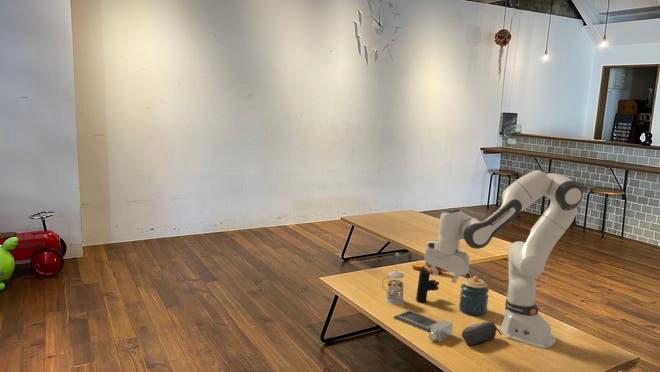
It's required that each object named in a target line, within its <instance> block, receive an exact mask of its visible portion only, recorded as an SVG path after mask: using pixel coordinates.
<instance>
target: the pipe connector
mask: <svg viewBox="0 0 660 372" xmlns="http://www.w3.org/2000/svg"><path fill="white" fill-rule="evenodd" d="M430 275H431V273H430V272H429V270H425V269H422V270H419V274H418V282H417V290H416V297H415V300H416V301H417V302H419V303H426V302H427V299H428V297H427V296H428V292H430V291H439V285H440V281H439V280H438V281H437V280H435V279H430Z"/></svg>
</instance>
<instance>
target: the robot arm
mask: <svg viewBox="0 0 660 372" xmlns="http://www.w3.org/2000/svg"><path fill="white" fill-rule="evenodd" d="M542 197H546V198H547V199H549V200H550V204H549V206H548V207H547V209H546V210H545V211H544V212H543V213H542V215H541V216H540V217H539V218H538V219H537V220H536V222H534V225H532V227H531V229H530V230H529V231H530V232H529V235H528V237H527V239H526V241H525V242H524V241H514V242H513V243H511V244H510V245H509V246H508V249H507V257H508V260H507V261H508V265H507V266H508V267H507V268H508V286H507V287H508V290H507V298H506V299H505V304H504V306H505V308H504V309H505V312H504V317H503V321H502V324H501V325H500V328H499V329H500V332H501V333H502V334H504V337H505V338H506V339H509V340H512V341H516V342H520V343H521V344H522V343H523V344H527V345H529V346H533V347H537V348H539V349H546V348H547V349H548V348H550V347H552V346H553V345H555V344H556V342H557V337H556V336H555V335H554V334H552V328H551V325H550V324H549V323H548V321H546V319H544V317H543V316H541V314H539V310H540V308H541V306H540V305H538V306H537V304H536V302H535V301H536V291H537V282H536V278H537V277H539V276H540V275H542V274H543V272H544V270H545V264H546V262H547V260H548V258H549V256H550V254H551V252H552V250H553V248H554V247H555V246H556V244H557V242H558V241H559V240H560V238H561V237H562V236H563V235H564V234H565V232H566V230H567V229H569V227H570V226H571V224H572V223H573V222H574V220H575V217H576V216H577V214H578V206H579V205H580V203H581V201H582V199H583V197H584V189H583V188H582V186H581V185H580V184H579V183H578V182H576V181H574V180H573V179H571V178H569V177H567V176H565V175H562V174H559V173H558V172H555V171H545V172H544V171H542V170H538V169H536V170H533V171H531V172H528V173H526V174H524V175H523V176H521V177H519V178H518V179H516V180H515V181H513V182H512V183H510V185H508V186H507V187H506V188H505V189H504V190H503V191H502V196H501V198H502V199H501V200H502V201H501V202H502V203H501V206H499V208H498V209H497V210H496V211H495V212H493V214H491V215H490V216H488V217H487V218H486V219H484V220H483V221H480V220H479V219H478V218H476V217H473V216H471V215H468V214H466V213H465V212H463V211H462V210H461V209H459V208H453V207H451V208H446V209H445V210H443V211H442V212H441V214H440V219H439V223H438V236H437V240H432V241H429V242H426V249H425V251H424V261H425V263H429V264H432V266H431V267H432V270H433V274H432V275H433V276H434V277H438V276H439V271H437V269H436V267H440V268H441V269H443V270H446V271H448V272H451V273H454V274H453V275H454V277H451V283H453V284H456V283H457V282H458V279H459V278H460V276H466V275H467V274H468V273H469V270H470V263H469V261H470V257H469V255H468V254H467V252H465V251H462V250H460V241H461V240H464V242H465V243H466V245H468V246H469V247H470V248H472V249H475V250H476V249H478V250H479V249H482V248H485V247H486V246H487V245H489V243H490V242H491V241H492V240H493V237H494V236H495V235H496V234H497V233H498V232H500V230H501V229H503V228H504V227H505V226H506V225H508V224H509V223H510V222H512V220H514V219H515V218H517V216H518V215H519V214H520V213H521V212H522V211H523V210H525V209H526V208H527V207H529V206H530V205H532V204H533V203H534V202H536V201H538V200H539V199H540V198H542Z"/></svg>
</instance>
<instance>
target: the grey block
mask: <svg viewBox="0 0 660 372" xmlns="http://www.w3.org/2000/svg"><path fill="white" fill-rule="evenodd" d="M453 325H454V324H453V322H452V321H449V320H446V319H442V320H440V321H438V323H437V324H435V325H433V326H431V332H429V334H428V339H429V340H430V341H432V342H433V341H435V342H439V343H441V342H442V341H444V340H446V339H447V338H450V336H451V337H452V335H453Z"/></svg>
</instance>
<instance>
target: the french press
mask: <svg viewBox="0 0 660 372" xmlns="http://www.w3.org/2000/svg"><path fill="white" fill-rule="evenodd" d="M395 256H396V259H398V257H400V253H399V252H396V253H395ZM395 269H396V270H393V271H390V272H388V273H387V274H388V275H387V276H385V277H384V278H383V279H382V281H381V282H382V283H381V285H382V288H383V289H384V291H386V298H385V300H384V302H386V304H390V305H396V306H399V305H402V304H404V303H405V300H404V285H403V284H404V282H403V281H402V280H398V279H404V277H405V274H404V273H403V272H401V271H397V270H398V267H396V268H395ZM390 278H393V279H391V280H389V279H390ZM385 279H387V280H389V281H388V284H387V288H385V286H384V280H385Z"/></svg>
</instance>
